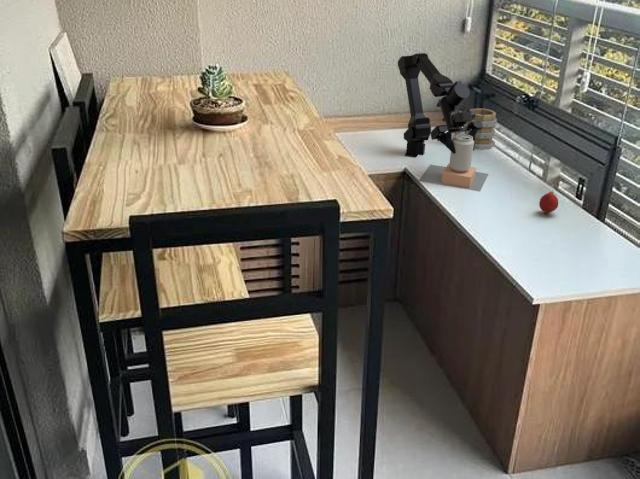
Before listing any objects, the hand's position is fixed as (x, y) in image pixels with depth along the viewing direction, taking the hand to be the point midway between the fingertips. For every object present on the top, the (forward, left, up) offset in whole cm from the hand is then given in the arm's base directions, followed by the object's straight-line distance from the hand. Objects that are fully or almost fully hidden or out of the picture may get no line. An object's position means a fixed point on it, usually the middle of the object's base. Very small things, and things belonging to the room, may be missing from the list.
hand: (464, 152), depth 225 cm
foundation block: (-1, +1, -11) cm, 11 cm away
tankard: (-5, +45, -12) cm, 47 cm away
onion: (+31, -12, -12) cm, 36 cm away
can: (-1, +1, -7) cm, 7 cm away
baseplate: (-3, +3, -12) cm, 13 cm away
